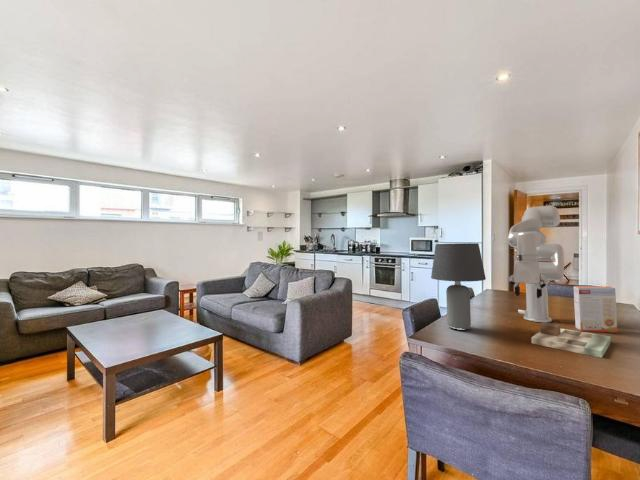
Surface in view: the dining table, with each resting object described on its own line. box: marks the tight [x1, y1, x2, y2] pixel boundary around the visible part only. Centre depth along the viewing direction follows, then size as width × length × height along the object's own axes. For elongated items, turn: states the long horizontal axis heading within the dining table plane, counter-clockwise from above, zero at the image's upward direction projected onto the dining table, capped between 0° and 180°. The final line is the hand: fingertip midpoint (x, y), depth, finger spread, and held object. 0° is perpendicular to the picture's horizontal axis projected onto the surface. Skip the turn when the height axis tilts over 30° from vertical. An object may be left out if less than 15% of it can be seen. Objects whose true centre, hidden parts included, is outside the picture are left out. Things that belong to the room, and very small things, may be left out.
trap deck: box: [530, 327, 612, 359], centre depth 127 cm, size 22×24×2 cm
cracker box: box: [573, 285, 618, 334], centre depth 142 cm, size 14×6×21 cm, turn 71°
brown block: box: [539, 322, 561, 336], centre depth 132 cm, size 6×6×4 cm
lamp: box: [430, 242, 487, 330], centre depth 151 cm, size 25×25×43 cm
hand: (528, 296), depth 138 cm, fingers open, 7 cm apart
